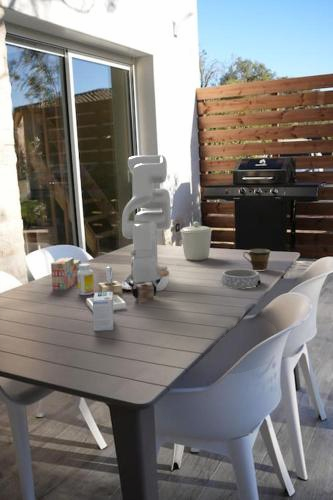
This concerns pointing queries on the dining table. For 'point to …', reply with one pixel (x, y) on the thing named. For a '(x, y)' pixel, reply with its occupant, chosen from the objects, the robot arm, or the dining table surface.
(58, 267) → the stack of blocks
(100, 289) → the oak block
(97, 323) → the light bulb box
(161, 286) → the lidded jar
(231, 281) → the dog bowl
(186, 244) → the canister
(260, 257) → the ceramic cup
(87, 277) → the supplement bottle
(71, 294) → the dining table surface
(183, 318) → the dining table surface
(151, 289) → the walnut block
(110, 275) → the steel pin
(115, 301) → the tray
